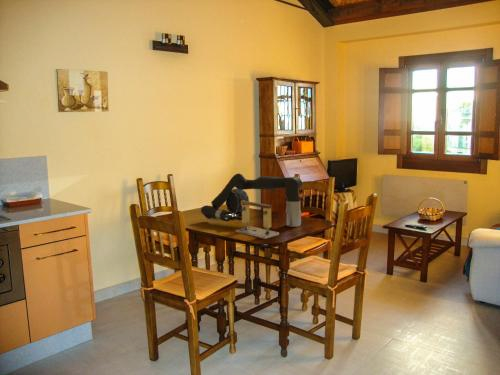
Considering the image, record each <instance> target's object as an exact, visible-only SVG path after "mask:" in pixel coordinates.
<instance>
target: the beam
mask: <svg viewBox="0 0 500 375" xmlns="http://www.w3.org/2000/svg"><path fill="white" fill-rule="evenodd" d="M243 204H244V205H249V207H257V208H268V209H270V208H271V209H272V205H271V204H266V203H261V202H255V201H253V202H252V201H249V202H248V201H245V200H243V201H241V205H243Z"/></svg>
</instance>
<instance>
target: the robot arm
mask: <svg viewBox="0 0 500 375" xmlns="http://www.w3.org/2000/svg"><path fill="white" fill-rule="evenodd" d="M302 186H303V181H302V179H301V178H300V177H299V176H298V177H297V176H290V177H288V176H287V177H280V176H267V175H265V176H259V177H256V178H255V179H247V178H245V176H244V175H243V174H241V173H240V172H239V173H235V174H234V175H233V176H232V177H231V178H230V180H228V183H227V184H226V185H225V186H224V187H223V189H222V191H220V192H219V194H218V195H217V196H216V197H215V198H213V199H212V200H211V203H210V204H211V205H212V206H211V205H208V204H207V205H203V206H202V207H201V209H200V213H201V214H202V216H204V217H205V218H206V219H207V220H211V219H214V220H218V221H223V222H226V223H227V222H230V221H242V216H240V215H239V214H233V213H231V212H230V211H228V209H220V208H221V207H222V205H224V204H226V200H227V198H228V196H229V194H230V192H231V190H232V189H239V190H244V191H246V190H266V191H269V190H279V189H285V198H286V226H287V227H290V228H291V227H293V228H296V227H300V226H301V225H302V211H301V196H300V195H299V190H300V189H301V187H302Z"/></svg>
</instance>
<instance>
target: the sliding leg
mask: <svg viewBox="0 0 500 375" xmlns="http://www.w3.org/2000/svg"><path fill="white" fill-rule="evenodd" d="M250 209H251V208H250V205H244V204H243V205H242V208H241V210H242V214H241V217H242V220H241V223H242V224H244V227H245V229H247V227H248V224H250V223H251V222H250V219H251V218H250V212H251V211H250Z"/></svg>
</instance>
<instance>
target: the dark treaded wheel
mask: <svg viewBox="0 0 500 375" xmlns="http://www.w3.org/2000/svg"><path fill="white" fill-rule="evenodd" d="M243 200H245V201H248V202H250V198H249V195H248V194H247V191H246V190H239V189H237V188H233V189H232V190H231V192H230V194H229V196H228V198H227V200H226V201H225V206H226V210H227V211H230V212H231V213H233V214H239V216H241V215H242V210H241V208H242V205H241V201H243Z"/></svg>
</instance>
